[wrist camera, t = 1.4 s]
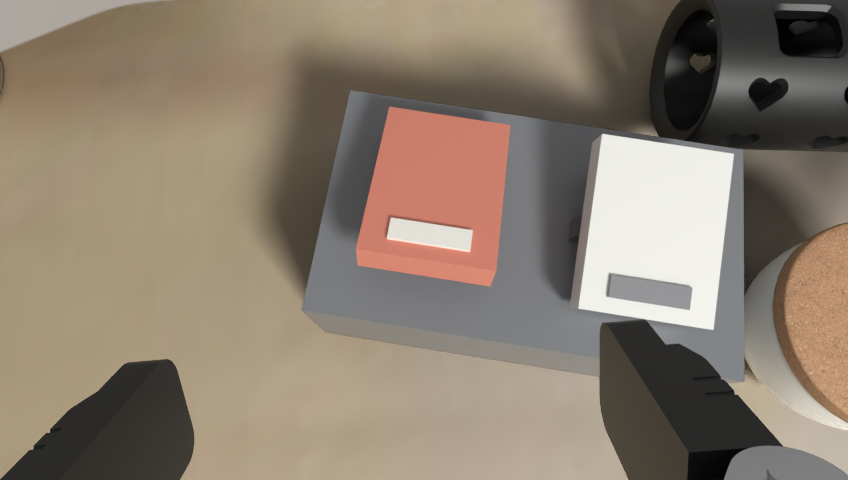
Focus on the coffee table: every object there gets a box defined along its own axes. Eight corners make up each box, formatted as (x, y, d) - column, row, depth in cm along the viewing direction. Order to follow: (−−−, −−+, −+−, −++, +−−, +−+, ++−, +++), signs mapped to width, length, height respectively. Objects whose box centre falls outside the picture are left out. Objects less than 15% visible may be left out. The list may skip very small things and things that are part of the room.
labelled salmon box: (357, 265, 26) (355, 247, 24) (389, 127, 29) (389, 104, 28) (490, 286, 25) (496, 269, 24) (504, 145, 29) (511, 122, 28)
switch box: (325, 332, 35) (297, 306, 26) (362, 154, 38) (348, 80, 30) (669, 388, 34) (755, 380, 26) (675, 202, 38) (753, 142, 29)
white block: (569, 307, 27) (579, 308, 25) (592, 142, 28) (603, 132, 26) (696, 327, 27) (715, 330, 25) (716, 161, 27) (735, 153, 26)
